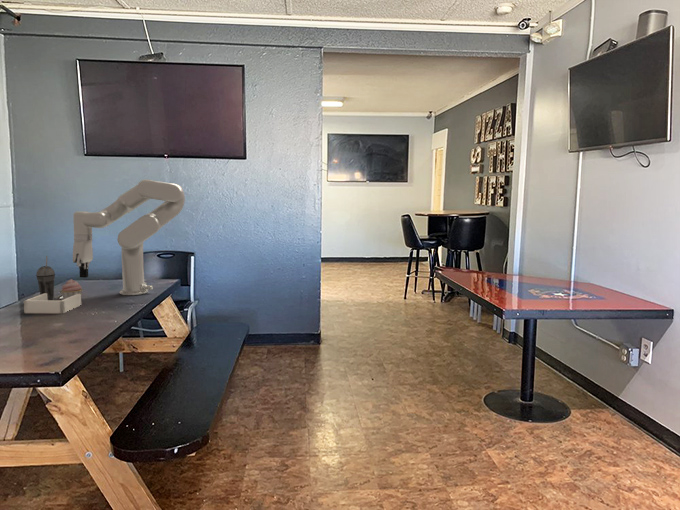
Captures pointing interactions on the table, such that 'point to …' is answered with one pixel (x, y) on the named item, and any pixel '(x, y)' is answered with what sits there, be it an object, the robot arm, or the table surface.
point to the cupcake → (71, 289)
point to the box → (51, 304)
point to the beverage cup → (46, 280)
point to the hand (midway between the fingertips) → (84, 277)
